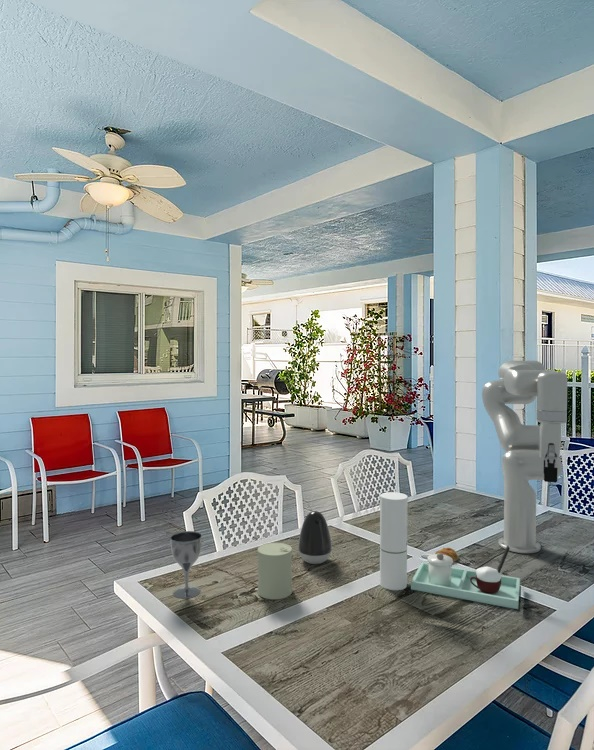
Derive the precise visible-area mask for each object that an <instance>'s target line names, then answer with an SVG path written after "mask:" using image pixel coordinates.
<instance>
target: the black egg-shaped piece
mask: <svg viewBox="0 0 594 750" xmlns="http://www.w3.org/2000/svg"><path fill="white" fill-rule="evenodd" d="M327 522H328V521H327V520H326V518H325V516H324V514H323V513H322V512H320V511H319V510H318V511H317V510H315V511H314V510H313V511H310V512H309V513H308V514H307V515H306V517H305V518H304V521H303V522H302V526H301V529H300V534H299V539H298V543H297V544H298V547H297V549H298V551H299V555H300V557H301V559H302V560H303V561H304V562H305V563H308V564H311V565H319V564H323V563H324V562H326V561H327V560H328V559H329V557H330V555H331V552H332V551H333V545H332V537H331V532H330V527H329V526H328V523H327Z"/></svg>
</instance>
